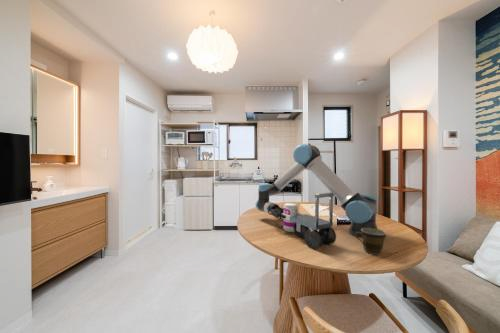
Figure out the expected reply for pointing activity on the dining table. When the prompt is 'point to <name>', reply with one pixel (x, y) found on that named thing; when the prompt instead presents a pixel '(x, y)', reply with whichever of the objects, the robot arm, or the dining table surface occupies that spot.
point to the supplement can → (290, 210)
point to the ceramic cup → (372, 240)
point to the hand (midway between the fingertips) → (296, 217)
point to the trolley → (316, 225)
